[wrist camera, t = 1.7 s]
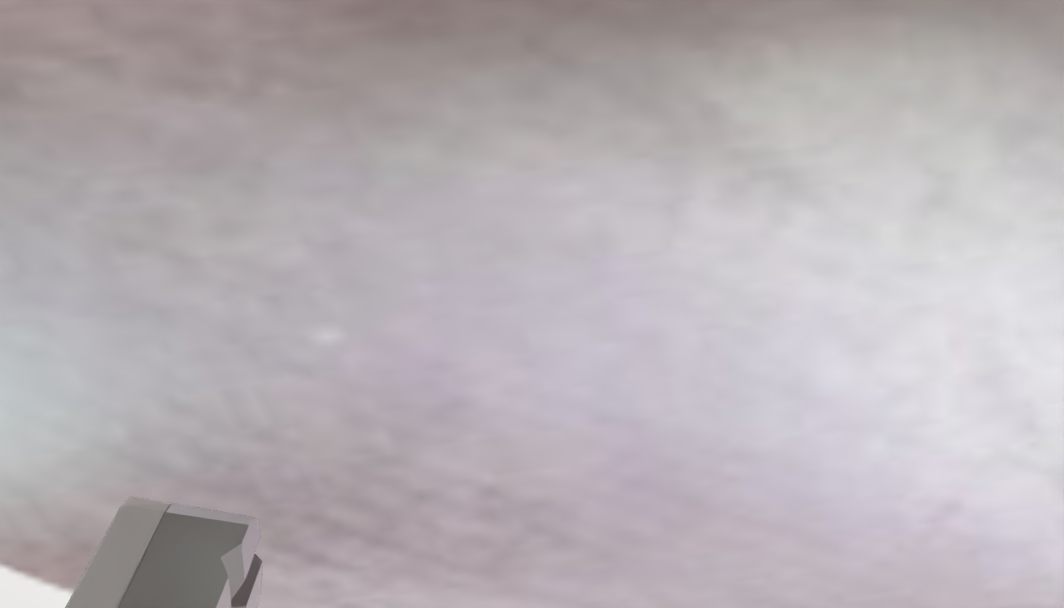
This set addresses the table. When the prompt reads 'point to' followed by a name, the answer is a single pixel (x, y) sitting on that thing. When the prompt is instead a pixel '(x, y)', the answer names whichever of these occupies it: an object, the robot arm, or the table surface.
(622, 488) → the table surface
